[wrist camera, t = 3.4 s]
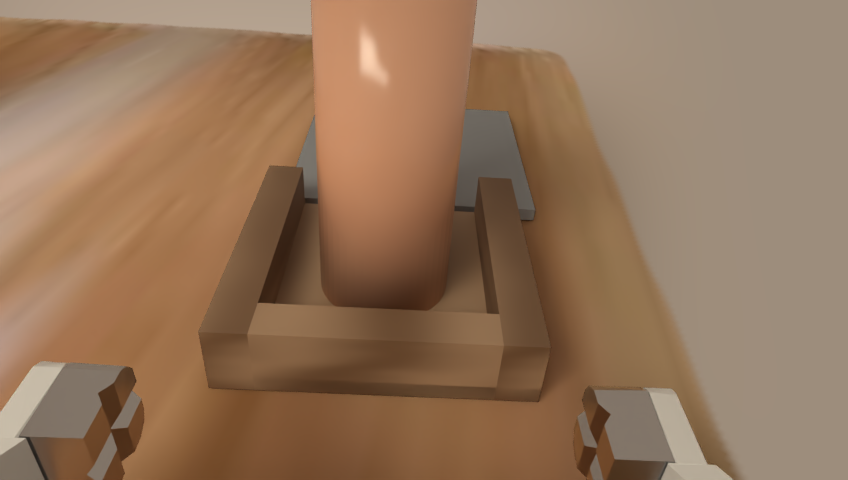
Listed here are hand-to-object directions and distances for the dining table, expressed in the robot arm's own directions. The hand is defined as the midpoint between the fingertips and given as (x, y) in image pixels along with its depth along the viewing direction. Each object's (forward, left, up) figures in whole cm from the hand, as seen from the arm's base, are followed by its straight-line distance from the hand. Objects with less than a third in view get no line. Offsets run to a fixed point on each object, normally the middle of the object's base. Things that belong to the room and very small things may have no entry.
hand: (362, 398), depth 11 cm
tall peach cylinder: (0, +14, -7) cm, 15 cm away
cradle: (0, +12, -7) cm, 14 cm away
